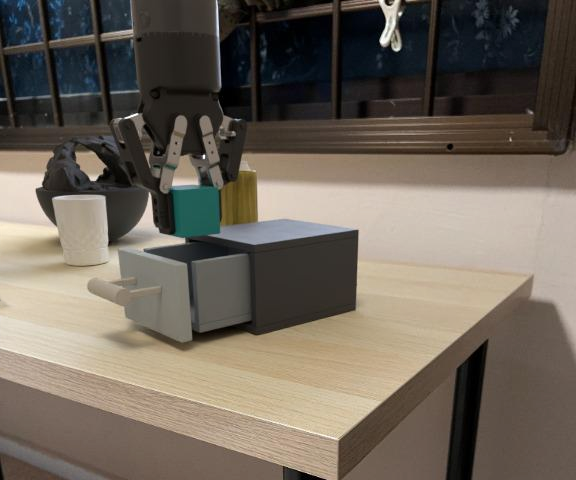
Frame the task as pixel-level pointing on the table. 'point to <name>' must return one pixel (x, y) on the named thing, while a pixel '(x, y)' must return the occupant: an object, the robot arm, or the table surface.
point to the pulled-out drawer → (181, 287)
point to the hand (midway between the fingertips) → (189, 230)
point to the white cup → (82, 228)
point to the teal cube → (195, 210)
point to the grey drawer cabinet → (294, 270)
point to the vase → (240, 199)
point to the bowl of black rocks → (94, 184)
